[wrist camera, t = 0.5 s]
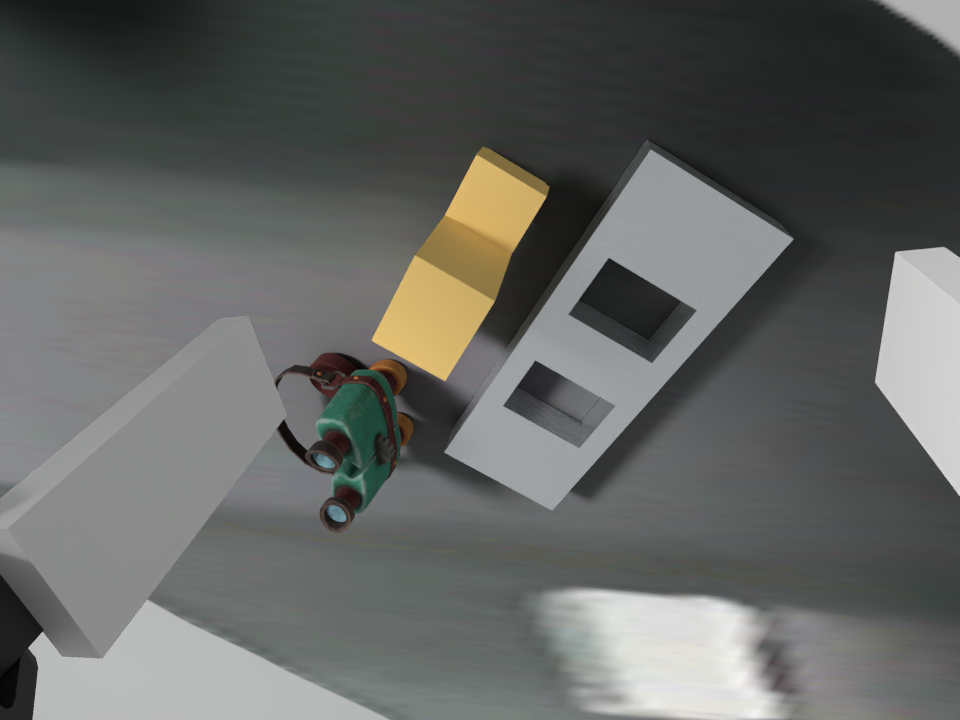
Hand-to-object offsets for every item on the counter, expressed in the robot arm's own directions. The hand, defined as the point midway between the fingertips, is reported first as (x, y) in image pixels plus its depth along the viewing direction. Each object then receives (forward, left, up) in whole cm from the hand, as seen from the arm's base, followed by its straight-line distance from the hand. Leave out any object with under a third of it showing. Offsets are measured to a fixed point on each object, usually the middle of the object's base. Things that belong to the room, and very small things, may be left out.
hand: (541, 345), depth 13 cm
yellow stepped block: (-2, -8, -25) cm, 26 cm away
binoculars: (-4, -24, -25) cm, 35 cm away
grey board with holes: (+8, -10, -25) cm, 28 cm away
